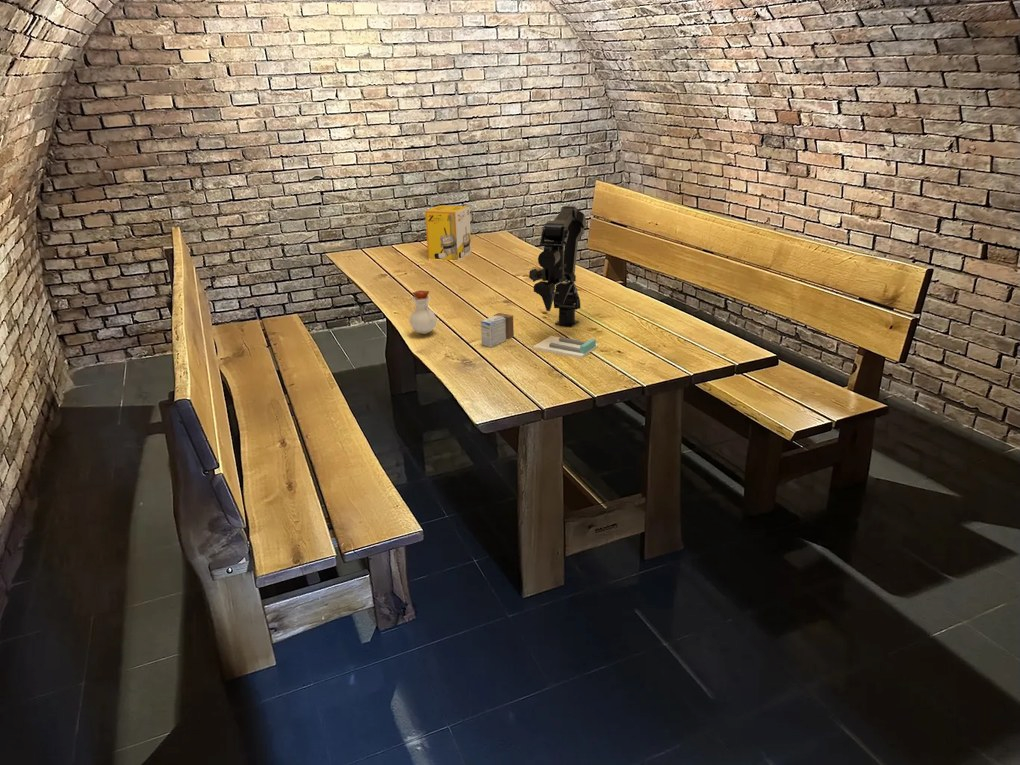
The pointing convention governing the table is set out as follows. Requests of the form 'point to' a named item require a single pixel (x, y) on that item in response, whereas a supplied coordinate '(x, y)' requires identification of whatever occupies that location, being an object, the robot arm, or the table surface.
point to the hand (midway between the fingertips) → (555, 307)
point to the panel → (508, 324)
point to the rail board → (566, 346)
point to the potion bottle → (422, 314)
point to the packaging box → (448, 232)
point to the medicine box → (493, 331)
